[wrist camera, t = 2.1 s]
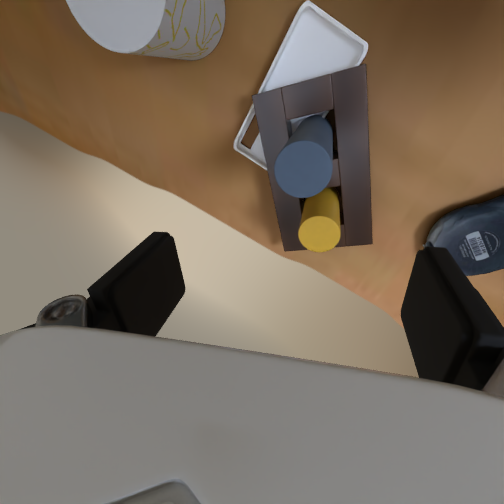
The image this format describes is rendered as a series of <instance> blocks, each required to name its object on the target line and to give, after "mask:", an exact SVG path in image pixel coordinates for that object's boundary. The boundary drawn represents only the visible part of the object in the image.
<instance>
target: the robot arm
mask: <svg viewBox="0 0 504 504" xmlns="http://www.w3.org/2000/svg"><path fill="white" fill-rule="evenodd" d="M87 290H88V292H89V295H90V297H89V298H88V299H87V300H86V298H85V297H84V296H82V295H69V296H65V297H62V298H59V299H57V300H55V301H53V302H51V303H49V304H48V305H47V306H45V307H44V308H43V309H42V310H41V311H40V313H39V315H38V317H37V321H36V323H35V324H33V325H30V326H27V327H24V328H22V329H19V330H16V331H12V332H9V333H6V334H2V335H0V504H504V327H503V326H502V325H501V323H500V322H499V320H498V319H497V317H496V316H495V315H494V313H493V312H492V310H491V309H490V308H489V306H488V305H487V303H486V302H485V300H484V299H483V298H482V296H481V295H480V293H479V292H478V291H477V290H476V289H475V288H474V287H473V285H472V284H471V283H470V281H469V280H468V278H467V277H466V275H465V274H464V273H463V271H462V270H461V268H460V267H459V265H458V264H457V263H456V261H455V260H454V258H453V257H452V255H451V254H450V252H449V251H448V250H447V248H445V247H428V246H426V247H425V248H424V249H423V250H419V251H418V252H417V255H416V258H415V262H414V265H413V269H412V273H411V276H410V280H409V283H408V287H407V290H406V294H405V297H404V301H403V304H402V308H401V319H402V322H403V326H404V329H405V332H406V336H407V339H408V342H409V345H410V349H411V352H412V355H413V359H414V362H415V365H416V369H417V372H418V375H419V378H417V377H412V376H407V375H400V374H394V373H387V372H382V371H376V370H370V369H363V368H357V367H351V366H344V365H338V364H331V363H326V362H319V361H312V360H306V359H300V358H294V357H287V356H281V355H274V354H268V353H261V352H254V351H248V350H242V349H235V348H228V347H221V346H215V345H209V344H201V343H195V342H188V341H182V340H175V339H168V338H161V337H155V336H156V335H157V333H158V332H159V330H160V329H161V327H162V326H163V325H164V323H165V322H166V320H167V318H168V317H169V316H170V314H171V313H172V311H173V310H174V308H175V307H176V305H177V304H178V302H179V301H180V299H181V298H182V296H183V295H184V293H185V284H184V279H183V275H182V271H181V267H180V262H179V258H178V254H177V250H176V246H175V242H174V238H173V237H172V236H170V234H169V233H167V232H153V233H152V234H151V235H149V236H148V237H147V238H146V239H145V240H144V241H143V242H141V243H140V244H139V245H138V246H137V247H136V248H134V249H133V250H132V251H131V252H130V253H129V254H127V255H126V256H125V257H124V258H123V259H122V260H121V261H120V262H118V263H117V264H116V265H115V266H114V267H112V268H111V269H110V270H109V271H108V272H107V273H106V274H104V275H103V276H102V277H101V278H100V279H99V280H97V281H96V282H95V283H94V284H93V285H92V286H90V287H89V288H88V289H87Z"/></svg>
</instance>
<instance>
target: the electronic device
mask: <svg viewBox="0 0 504 504" xmlns="http://www.w3.org/2000/svg"><path fill="white" fill-rule="evenodd" d="M426 246H428V247H445V248H447V250H448V251H449V252H450V254H451V255H452V257H453V258H454V260H455V261H456V263H457V264H458V265H459V267H460V268H461V270H462V271H463V273H464V274H465V275H466V276H473V275H479V274H486V273H490V272H493V271H496V270H500V269H504V195H501V196H499V197H496V198H494V199H492V200H489V201H486V202H483V203H479V204H473V205H468V206H464V207H462V208H459V209H455V210H453V211H451V212H449V213H447V214H446V215H444V216H443V217H442V218H440V219H439V220H438V221H437V222H436V223H435V224H434V226H433V227H432V228H431V230H430V233H429V235H428V237H427V242H426V244H425V245H423V247H424V248H425V247H426Z"/></svg>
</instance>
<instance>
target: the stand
mask: <svg viewBox="0 0 504 504" xmlns="http://www.w3.org/2000/svg"><path fill="white" fill-rule="evenodd" d="M252 100H253V104H254V109H255V114H256V119H257V123H258V128H259V133H260V138H261V142H262V147H263V152H264V156H265V161H266V166H267V171H268V175H269V180H270V185H271V190H272V194H273V199H274V204H275V209H276V213H277V218H278V223H279V228H280V232H281V237H282V242H283V246H284V251H296V250H307V248H305V247H304V246H303V245H302V243H301V242H300V240H299V237H298V231H299V227H300V222H301V218H302V213H303V209H304V200H303V198H297V197H293V196H291V195H289V194H287V193H286V192H284V191H283V190H282V189H281V188H280V186H279V185H278V183H277V181H276V179H275V174H274V165H275V161H276V158H277V156H278V154H279V153H280V151H281V150H282V149H283V147H284V146H285V144H286V143H287V141H288V140H289V139H290V137H291V136H292V134H293V133H292V126H291V120H290V119H295V118H299V117H303V116H307V115H311V114H316V113H320V112H324V111H328V110H332V109H334V115H335V126H336V137H337V149H338V151H336V152H333V169H332V176H331V179H330V181H329V183H328V184H327V186H326V187H325V188H329V187H336V186H340V185H341V194H342V206H343V213H340V232H341V235H340V240H339V242H338V243H337V245H336V246H335V247H344V246H356V245H368V244H373V242H372V214H371V186H370V158H369V130H368V102H367V73H366V64H362V65H359V66H355V67H352V68H348V69H344V70H341V71H337V72H334V73H331V74H327V75H323V76H319V77H316V78H312V79H309V80H305V81H302V82H298V83H294V84H291V85H287V86H284V87H280V88H277V89H273V90H269V91H266V92H262V93H259V94H255V95H252Z"/></svg>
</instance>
